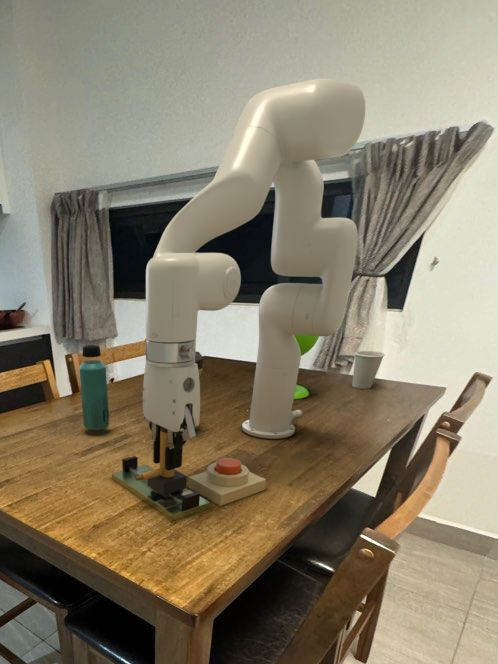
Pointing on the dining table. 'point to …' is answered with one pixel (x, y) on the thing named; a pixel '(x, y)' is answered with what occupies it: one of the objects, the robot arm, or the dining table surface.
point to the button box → (226, 485)
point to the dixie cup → (366, 368)
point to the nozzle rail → (171, 506)
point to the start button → (228, 466)
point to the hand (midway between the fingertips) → (167, 464)
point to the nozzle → (164, 473)
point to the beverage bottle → (94, 390)
